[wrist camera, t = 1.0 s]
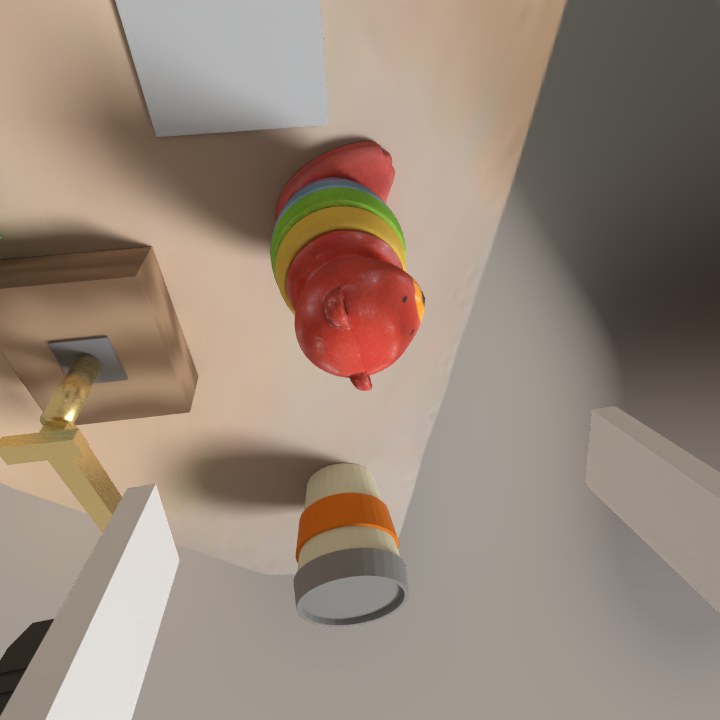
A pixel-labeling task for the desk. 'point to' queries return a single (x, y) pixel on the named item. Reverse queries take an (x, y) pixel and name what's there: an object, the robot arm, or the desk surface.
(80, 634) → the robot arm
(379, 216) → the stacking bear
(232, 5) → the mat
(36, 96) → the desk surface
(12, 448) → the gold piece
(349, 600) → the reusable coffee cup
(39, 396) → the lock block
